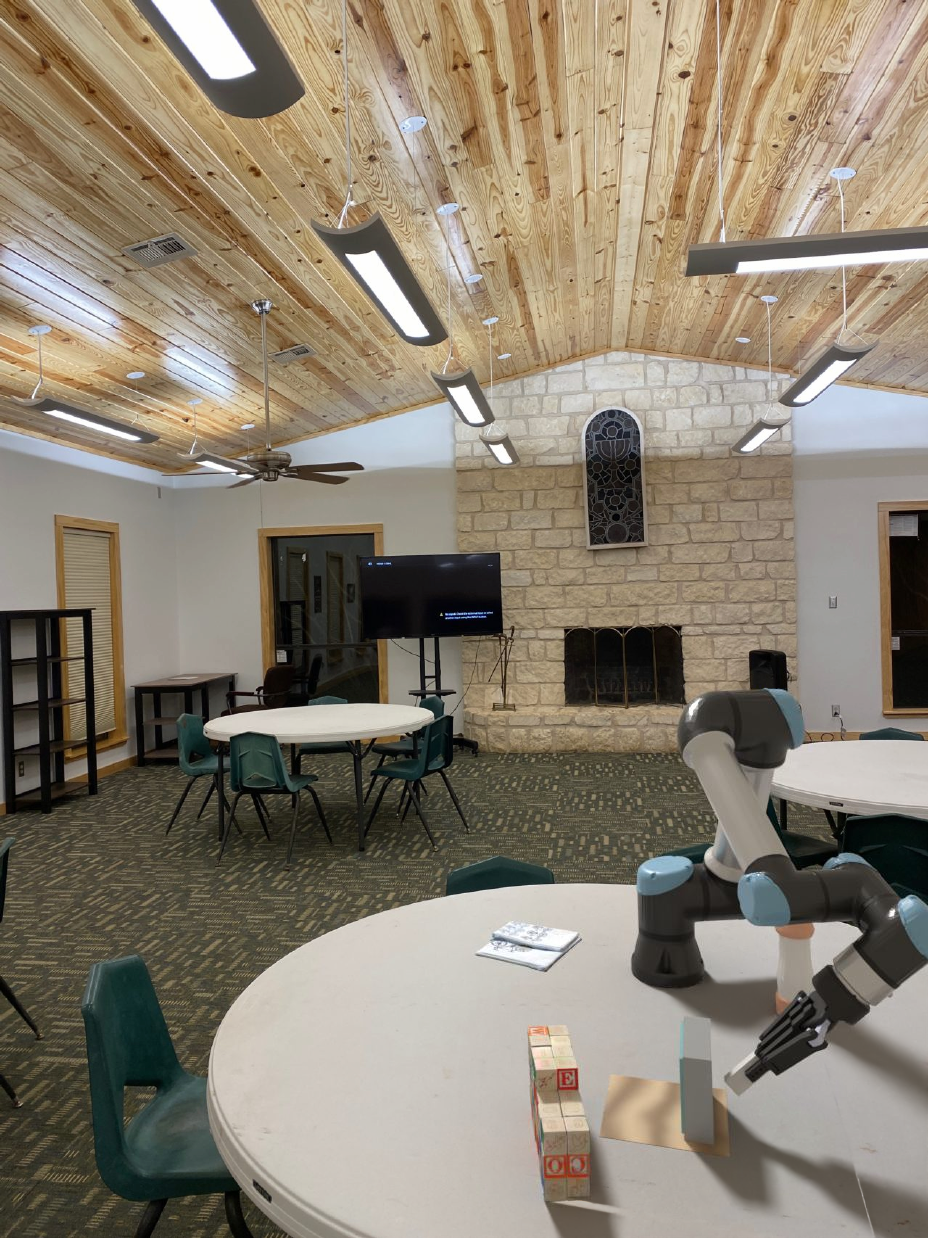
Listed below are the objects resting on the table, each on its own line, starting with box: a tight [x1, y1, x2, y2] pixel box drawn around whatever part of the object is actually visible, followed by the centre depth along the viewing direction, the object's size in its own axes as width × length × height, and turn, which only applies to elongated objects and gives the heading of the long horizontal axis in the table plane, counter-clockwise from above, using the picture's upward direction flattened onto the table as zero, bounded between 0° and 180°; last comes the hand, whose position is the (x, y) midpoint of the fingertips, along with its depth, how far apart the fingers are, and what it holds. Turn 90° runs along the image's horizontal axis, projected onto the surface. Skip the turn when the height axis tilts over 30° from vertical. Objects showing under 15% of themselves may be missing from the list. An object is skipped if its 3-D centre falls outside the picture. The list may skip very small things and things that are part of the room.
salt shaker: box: [774, 923, 816, 1016], centre depth 148 cm, size 7×7×19 cm
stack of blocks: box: [527, 1024, 591, 1202], centre depth 113 cm, size 21×6×12 cm, turn 0°
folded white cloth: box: [474, 920, 582, 972], centre depth 182 cm, size 19×20×2 cm
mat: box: [598, 1073, 731, 1158], centre depth 119 cm, size 18×16×1 cm
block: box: [678, 1015, 714, 1145], centre depth 118 cm, size 4×12×12 cm, turn 163°
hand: (731, 1086), depth 116 cm, fingers closed
